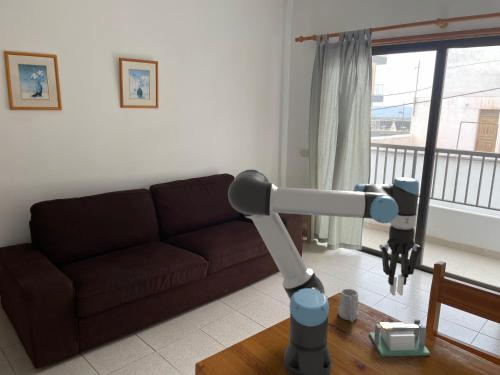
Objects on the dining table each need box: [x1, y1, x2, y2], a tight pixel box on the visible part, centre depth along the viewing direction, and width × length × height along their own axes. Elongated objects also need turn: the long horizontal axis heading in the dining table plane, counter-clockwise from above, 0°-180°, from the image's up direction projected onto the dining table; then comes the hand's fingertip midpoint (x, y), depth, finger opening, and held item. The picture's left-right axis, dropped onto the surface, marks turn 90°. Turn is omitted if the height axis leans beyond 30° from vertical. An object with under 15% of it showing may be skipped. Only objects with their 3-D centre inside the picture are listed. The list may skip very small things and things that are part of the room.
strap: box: [379, 321, 423, 331], centre depth 131 cm, size 14×3×2 cm, turn 92°
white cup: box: [338, 288, 360, 323], centre depth 147 cm, size 8×12×12 cm, turn 179°
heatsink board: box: [368, 318, 431, 357], centre depth 131 cm, size 16×12×8 cm
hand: (396, 293), depth 128 cm, fingers closed
